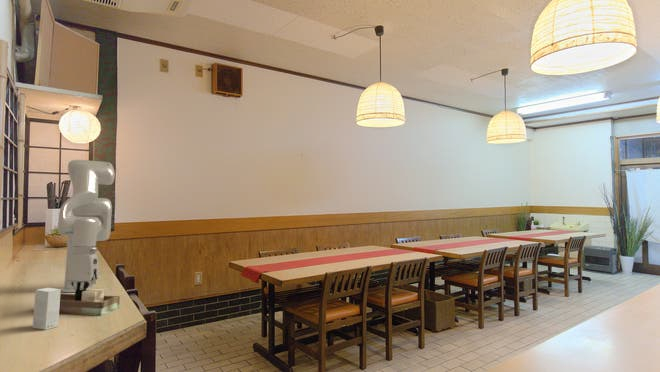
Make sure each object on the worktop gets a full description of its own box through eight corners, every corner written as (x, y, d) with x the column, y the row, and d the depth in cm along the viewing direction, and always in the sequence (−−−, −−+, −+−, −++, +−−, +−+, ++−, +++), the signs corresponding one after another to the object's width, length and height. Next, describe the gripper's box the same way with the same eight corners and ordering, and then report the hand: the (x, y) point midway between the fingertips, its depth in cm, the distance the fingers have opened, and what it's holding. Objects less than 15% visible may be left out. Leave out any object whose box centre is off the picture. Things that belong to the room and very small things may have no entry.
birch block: (90, 302, 143) (91, 288, 144) (103, 303, 143) (104, 289, 143) (81, 305, 138) (82, 291, 139) (94, 306, 138) (95, 292, 138)
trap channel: (56, 305, 147) (57, 293, 147) (118, 308, 146) (119, 296, 146) (34, 312, 137) (35, 299, 137) (101, 315, 135) (102, 302, 135)
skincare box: (58, 326, 122) (61, 289, 123) (44, 330, 118) (48, 291, 119) (45, 324, 124) (48, 287, 125) (31, 327, 120) (34, 289, 121)
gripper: (109, 250, 145) (105, 298, 144) (72, 248, 146) (68, 297, 145) (95, 252, 138) (92, 303, 137) (57, 250, 139) (53, 301, 138)
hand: (80, 300), depth 141 cm, fingers closed
